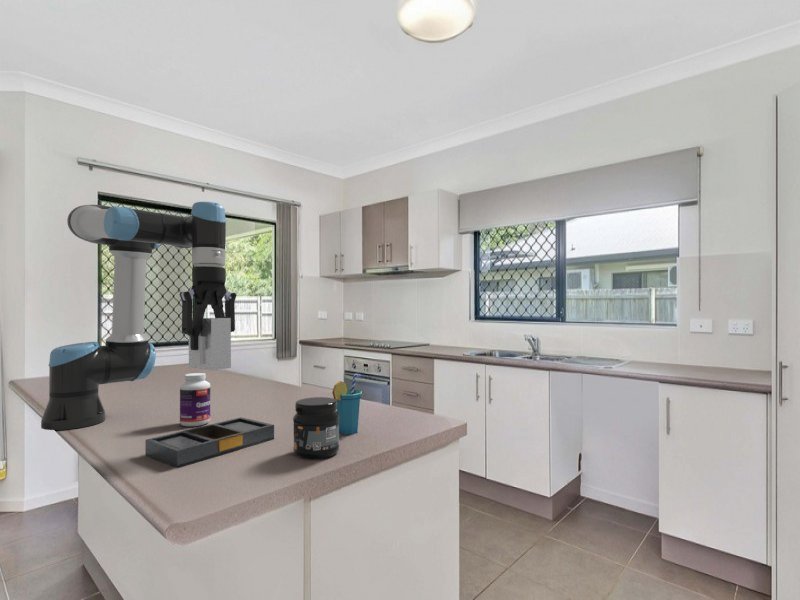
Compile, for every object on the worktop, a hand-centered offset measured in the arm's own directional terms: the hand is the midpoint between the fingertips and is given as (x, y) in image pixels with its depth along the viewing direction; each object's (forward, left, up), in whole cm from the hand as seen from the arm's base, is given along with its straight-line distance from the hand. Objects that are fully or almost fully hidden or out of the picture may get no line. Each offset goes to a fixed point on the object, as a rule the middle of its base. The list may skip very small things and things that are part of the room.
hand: (209, 362), depth 107 cm
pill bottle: (-24, +10, -21) cm, 33 cm away
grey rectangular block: (0, 0, -1) cm, 1 cm away
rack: (+1, +1, -20) cm, 20 cm away
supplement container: (+24, +12, -21) cm, 34 cm away
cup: (+18, +30, -21) cm, 41 cm away
